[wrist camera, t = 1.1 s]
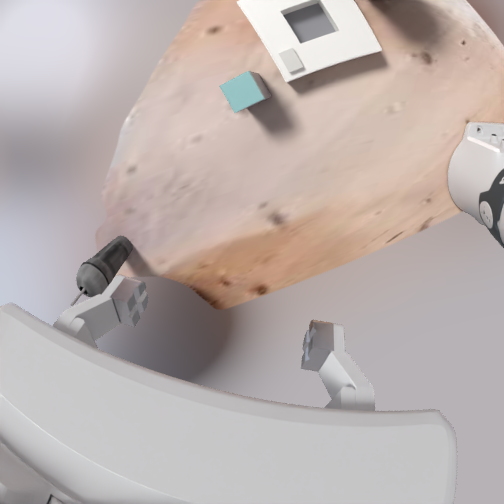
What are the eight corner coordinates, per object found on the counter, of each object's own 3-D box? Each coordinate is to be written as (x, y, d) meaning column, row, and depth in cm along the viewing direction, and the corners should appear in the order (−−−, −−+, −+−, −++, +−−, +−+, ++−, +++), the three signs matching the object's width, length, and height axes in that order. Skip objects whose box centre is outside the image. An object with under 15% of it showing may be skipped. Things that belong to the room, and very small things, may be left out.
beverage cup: (106, 241, 56) (52, 299, 39) (119, 224, 52) (59, 285, 36) (128, 263, 58) (80, 326, 42) (142, 248, 54) (90, 315, 38)
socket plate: (329, -25, 20) (331, -33, 17) (376, 52, 26) (383, 49, 23) (241, 7, 26) (235, 0, 23) (287, 82, 32) (285, 82, 29)
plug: (258, 73, 32) (248, 70, 26) (271, 96, 34) (264, 98, 28) (234, 85, 33) (219, 86, 28) (246, 108, 35) (234, 113, 30)
